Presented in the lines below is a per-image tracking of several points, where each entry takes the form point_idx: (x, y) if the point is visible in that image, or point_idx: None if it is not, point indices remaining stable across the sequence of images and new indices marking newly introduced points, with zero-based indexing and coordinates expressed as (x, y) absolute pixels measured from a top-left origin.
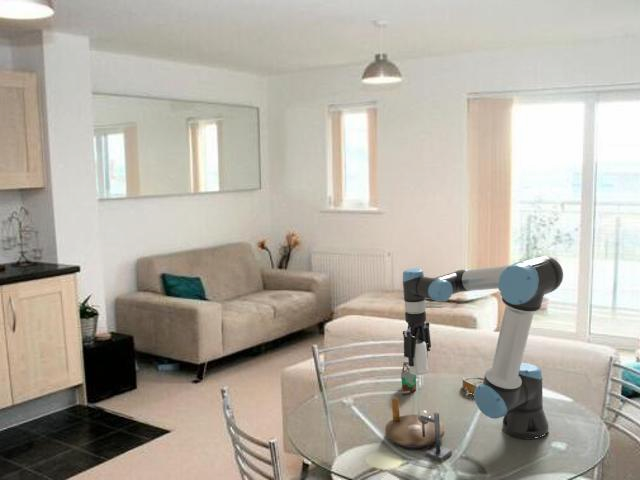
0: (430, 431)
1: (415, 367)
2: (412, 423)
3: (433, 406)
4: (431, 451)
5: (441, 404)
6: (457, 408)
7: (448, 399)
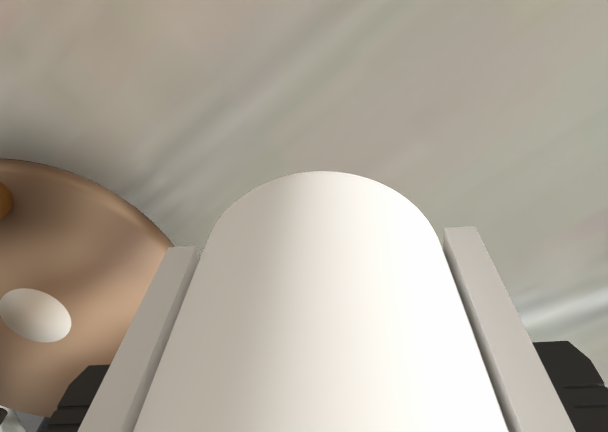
0: None
1: None
2: (54, 284)
3: (429, 116)
4: None
5: (485, 137)
6: (483, 238)
7: (584, 124)
